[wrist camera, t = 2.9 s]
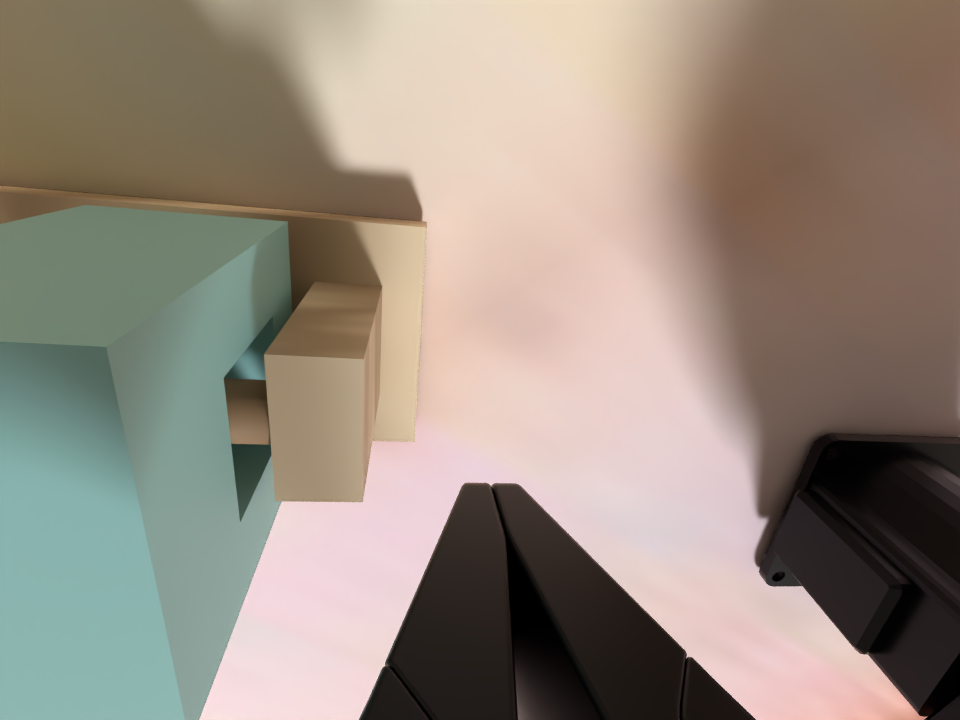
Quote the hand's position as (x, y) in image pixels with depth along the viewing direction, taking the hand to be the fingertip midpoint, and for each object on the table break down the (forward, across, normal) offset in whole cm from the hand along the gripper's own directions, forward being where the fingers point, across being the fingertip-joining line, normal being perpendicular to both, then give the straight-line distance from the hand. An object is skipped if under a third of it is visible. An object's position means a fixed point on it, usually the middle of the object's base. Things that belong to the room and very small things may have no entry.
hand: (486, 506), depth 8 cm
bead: (+6, +6, 0) cm, 8 cm away
